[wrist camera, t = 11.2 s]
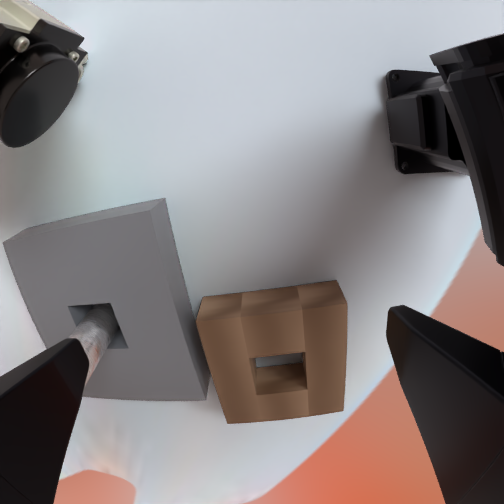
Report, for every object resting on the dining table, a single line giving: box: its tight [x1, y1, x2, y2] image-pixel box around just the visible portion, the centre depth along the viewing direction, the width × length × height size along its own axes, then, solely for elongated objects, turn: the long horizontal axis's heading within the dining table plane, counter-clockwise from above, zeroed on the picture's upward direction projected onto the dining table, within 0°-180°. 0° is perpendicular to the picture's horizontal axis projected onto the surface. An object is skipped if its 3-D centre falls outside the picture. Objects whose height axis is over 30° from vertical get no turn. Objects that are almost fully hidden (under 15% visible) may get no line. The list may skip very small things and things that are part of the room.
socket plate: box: [3, 198, 210, 401], centre depth 20 cm, size 12×14×3 cm
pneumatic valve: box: [0, 0, 88, 148], centre depth 10 cm, size 6×12×12 cm, turn 48°
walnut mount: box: [196, 280, 347, 424], centre depth 22 cm, size 9×10×3 cm
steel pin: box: [69, 303, 120, 385], centre depth 18 cm, size 2×2×8 cm
